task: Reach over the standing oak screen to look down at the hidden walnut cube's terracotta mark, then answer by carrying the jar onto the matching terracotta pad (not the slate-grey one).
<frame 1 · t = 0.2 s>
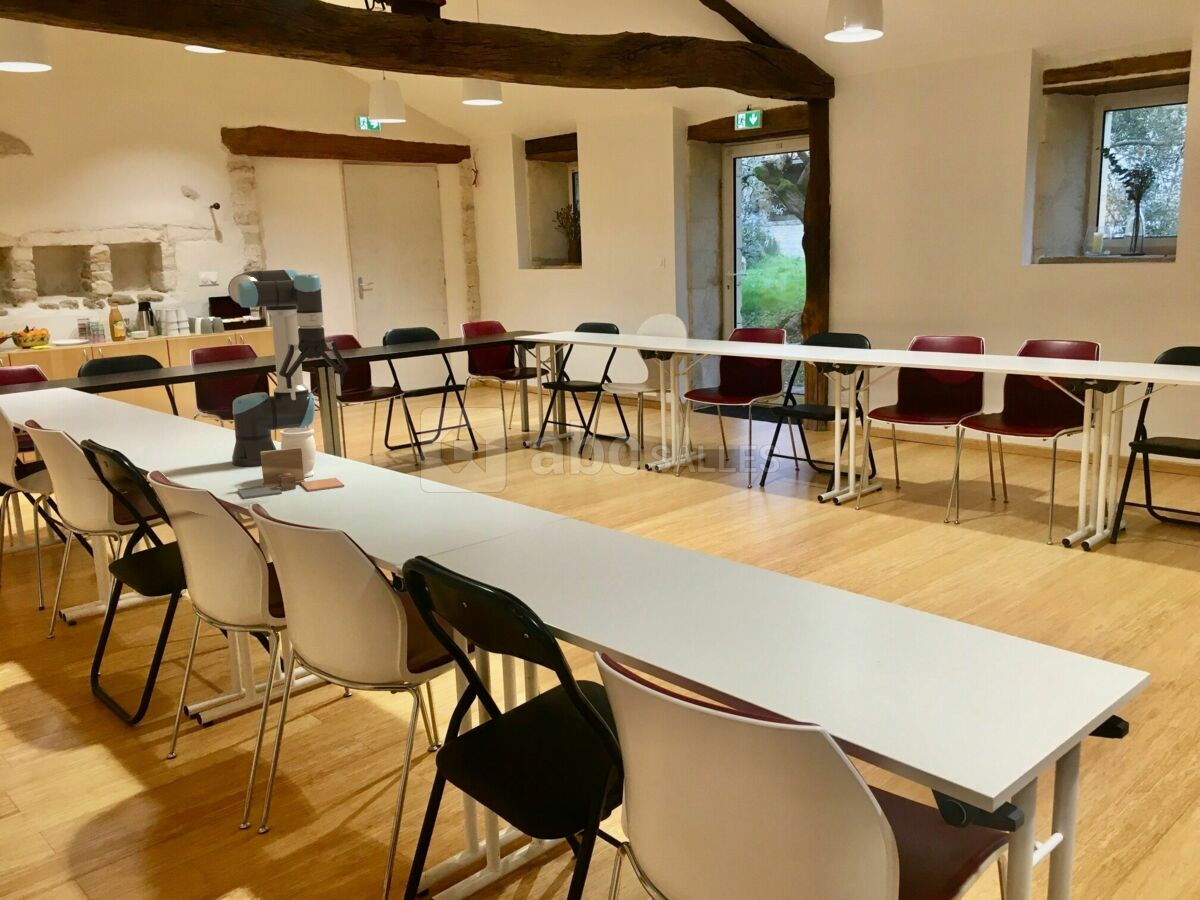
hand: (316, 397, 301), 28 cm above the table, fingers open, 13 cm apart
letter cube: (287, 488, 306), on the table
pad terracotta: (322, 485, 309), on the table
jar: (300, 476, 322), on the table
pad slate: (259, 492, 301), on the table
oak screen: (284, 484, 311), on the table
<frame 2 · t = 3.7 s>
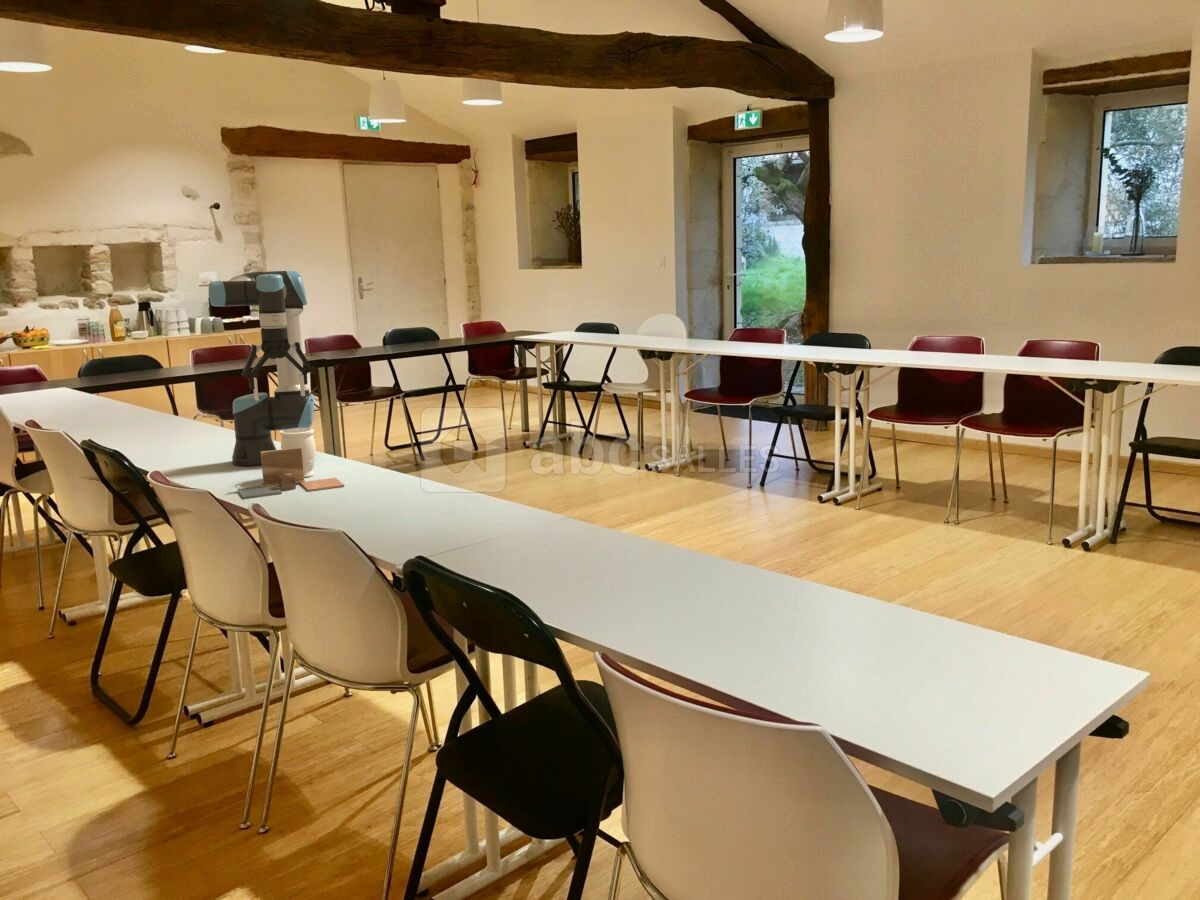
hand: (280, 397, 300), 28 cm above the table, fingers open, 13 cm apart
nothing on the table moved.
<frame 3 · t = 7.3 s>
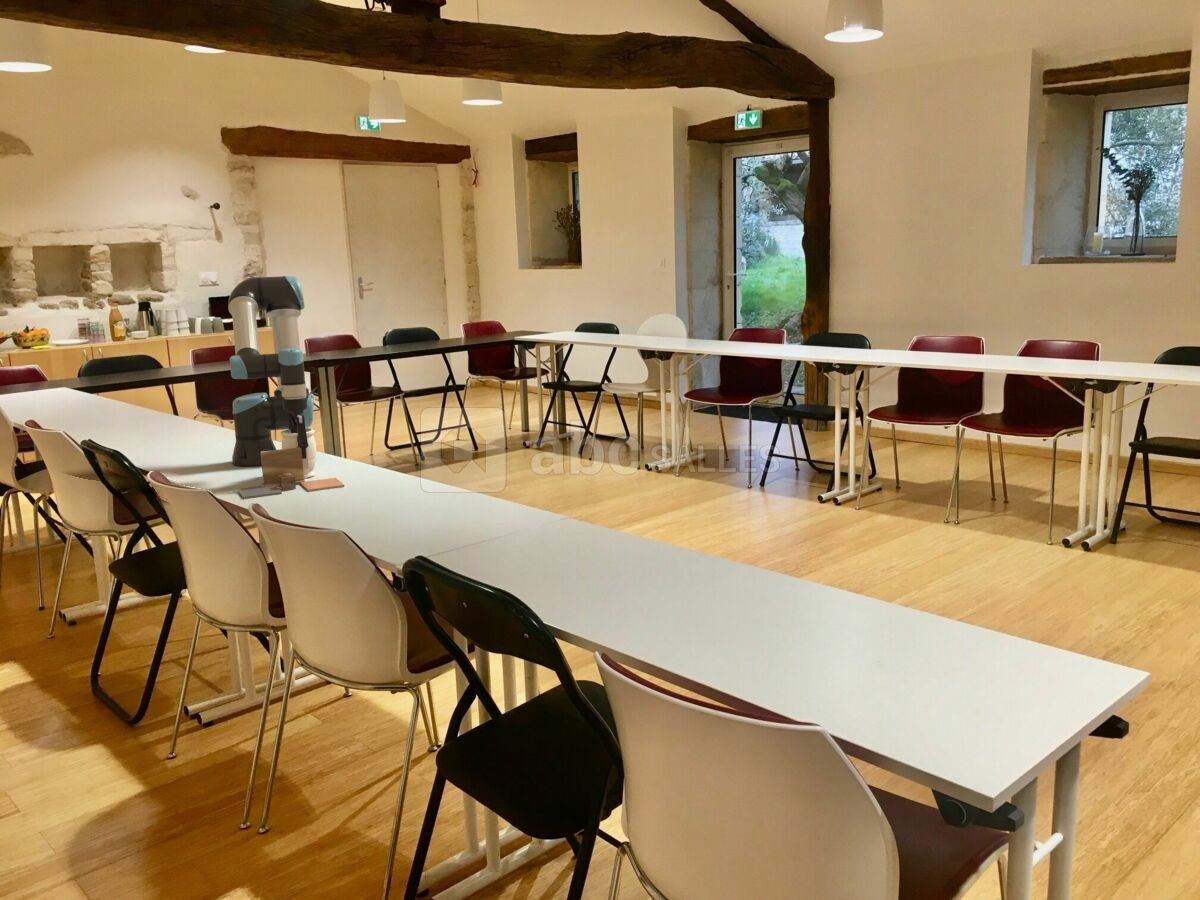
hand: (300, 465, 320), 4 cm above the table, fingers open, 10 cm apart
jar: (301, 476, 321), on the table, touching gripper
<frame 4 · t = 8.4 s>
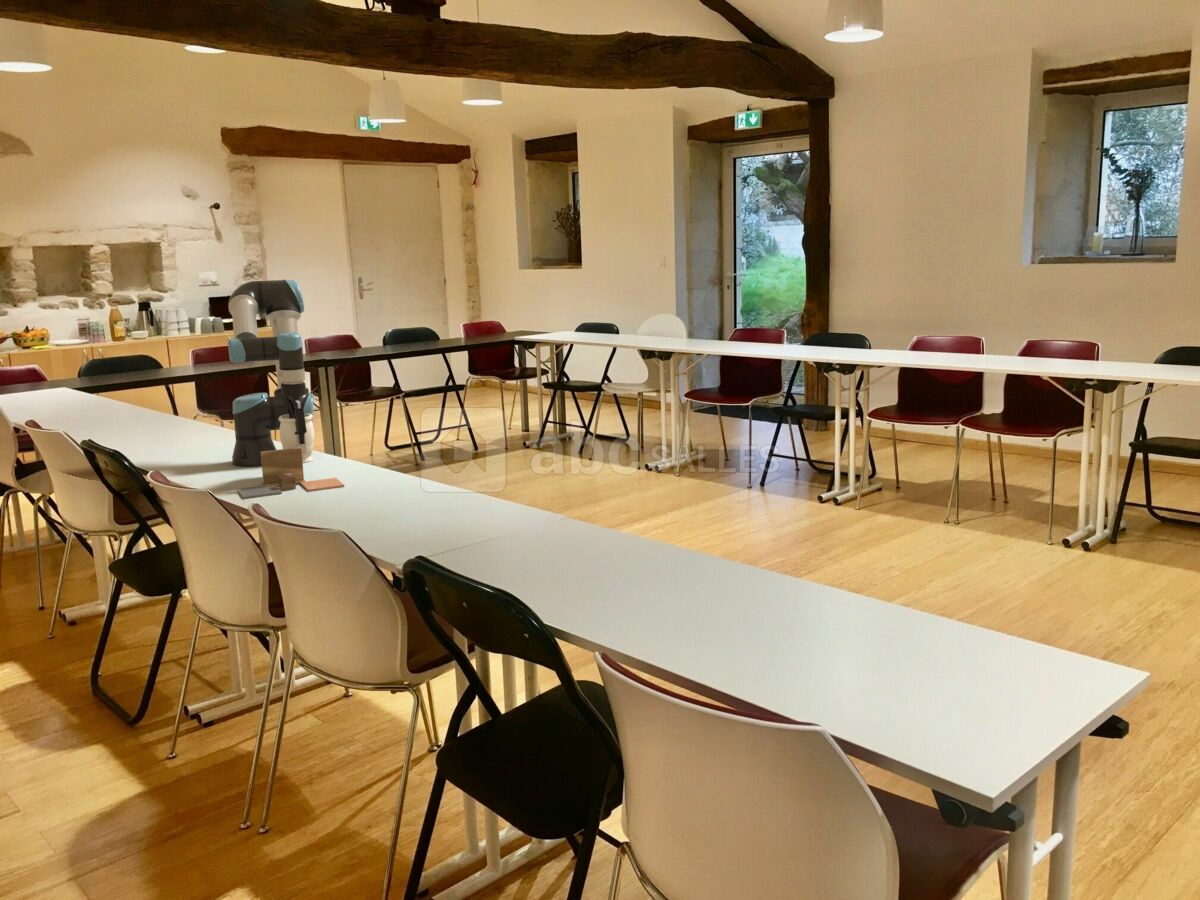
hand: (298, 450, 321), 8 cm above the table, fingers closed on jar, 10 cm apart
jar: (299, 462, 322), point 4 cm above the table, touching gripper
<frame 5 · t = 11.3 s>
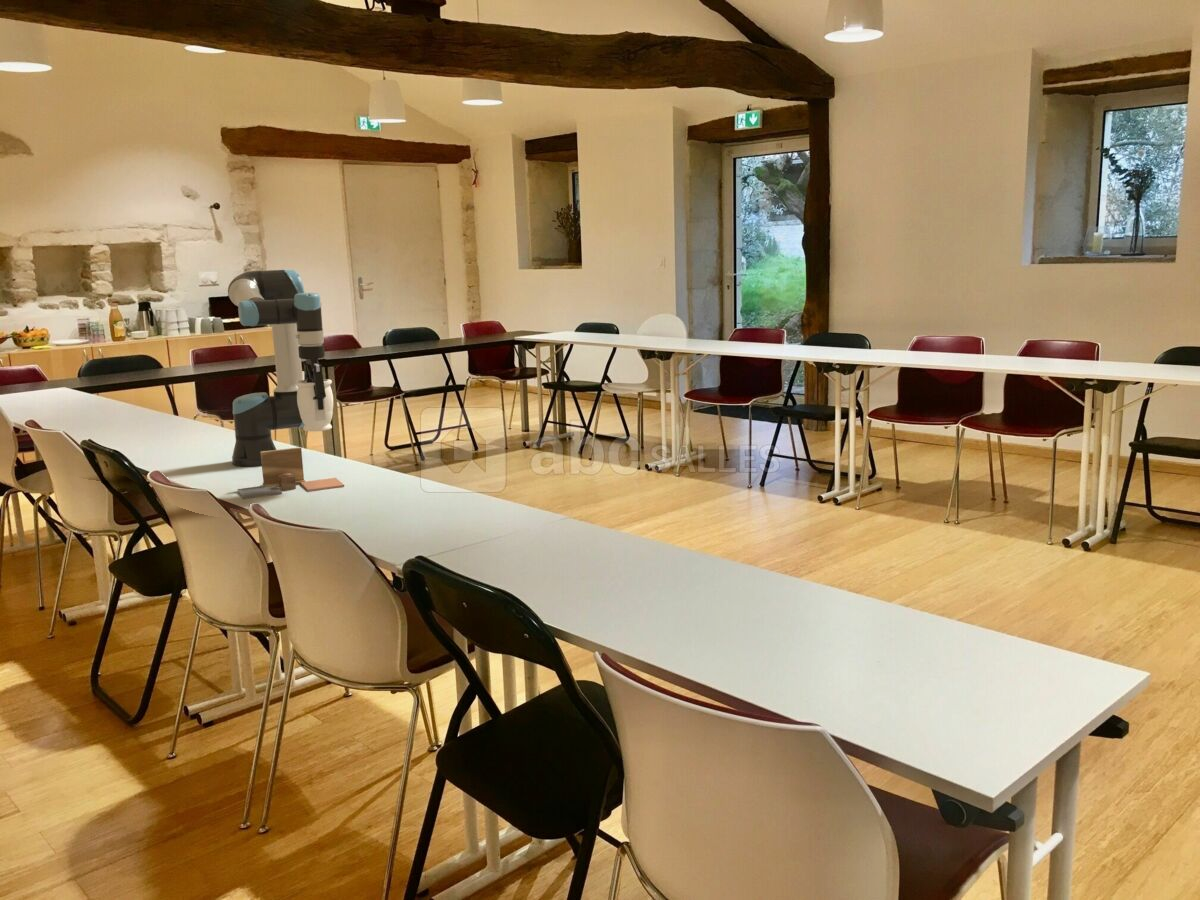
hand: (316, 417, 304), 21 cm above the table, fingers closed on jar, 10 cm apart
jar: (317, 430, 305), point 17 cm above the table, touching gripper
when the fingers open (5 cm above the table, at t = 14.6 s): jar stays where it is, resting on pad terracotta.
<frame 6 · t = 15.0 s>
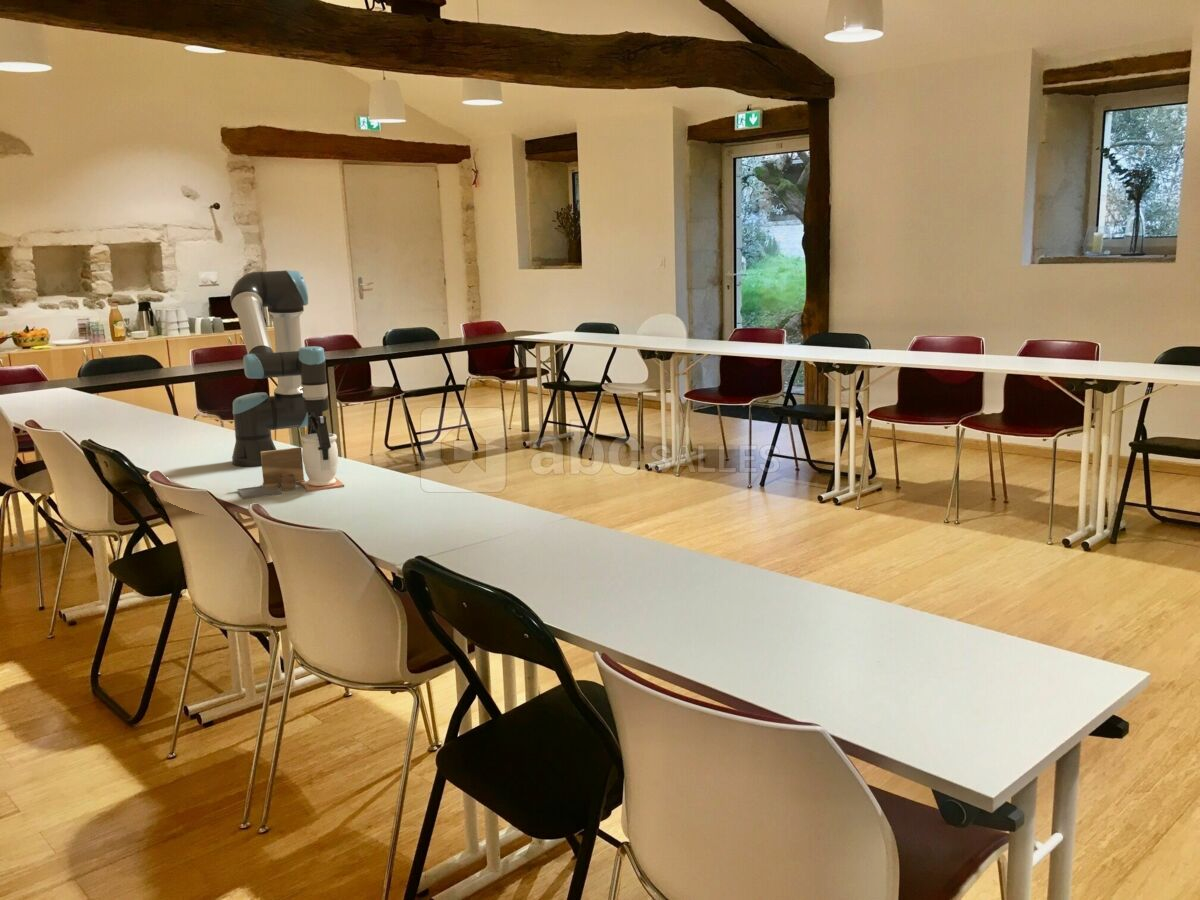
hand: (320, 465, 307), 6 cm above the table, fingers open, 13 cm apart
jar: (322, 483, 308), resting on pad terracotta
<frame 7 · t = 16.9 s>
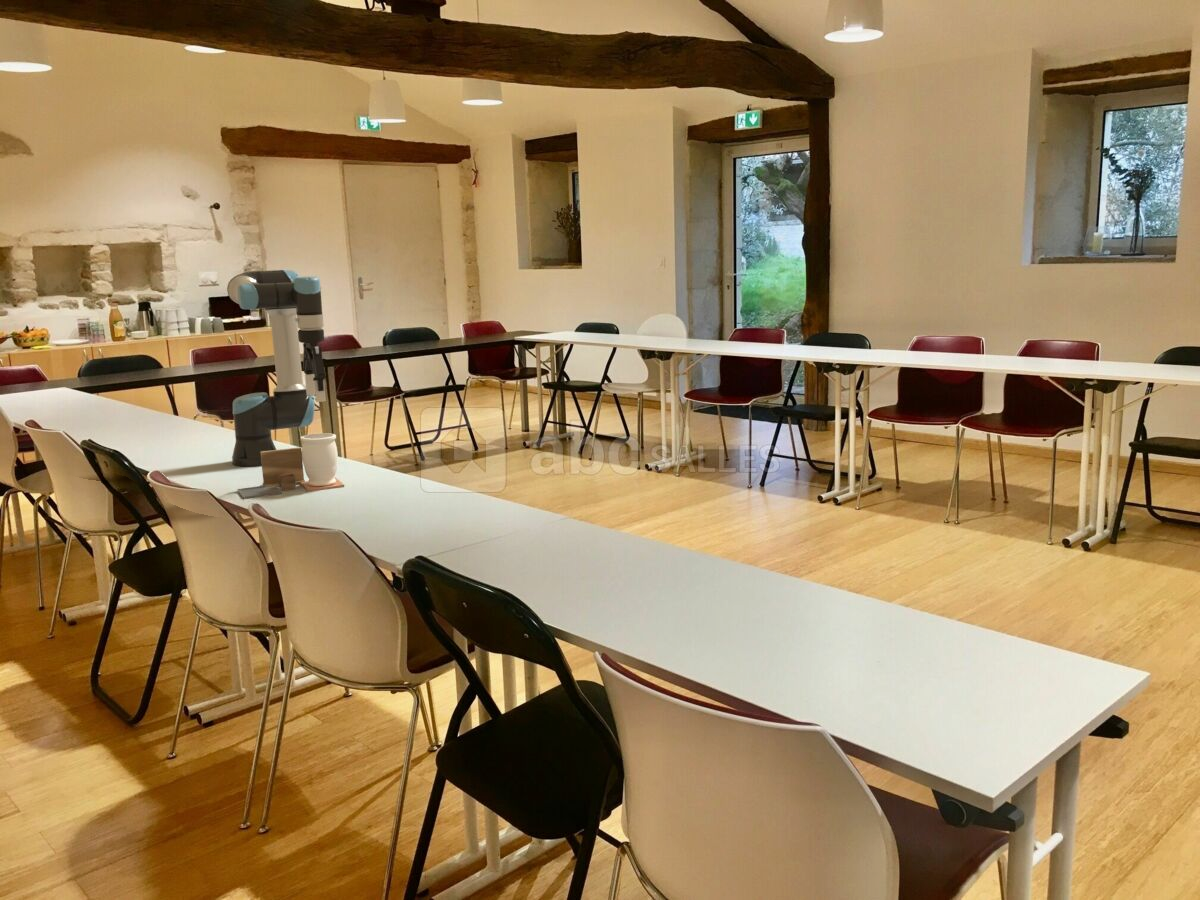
hand: (316, 398, 304), 27 cm above the table, fingers open, 13 cm apart
nothing on the table moved.
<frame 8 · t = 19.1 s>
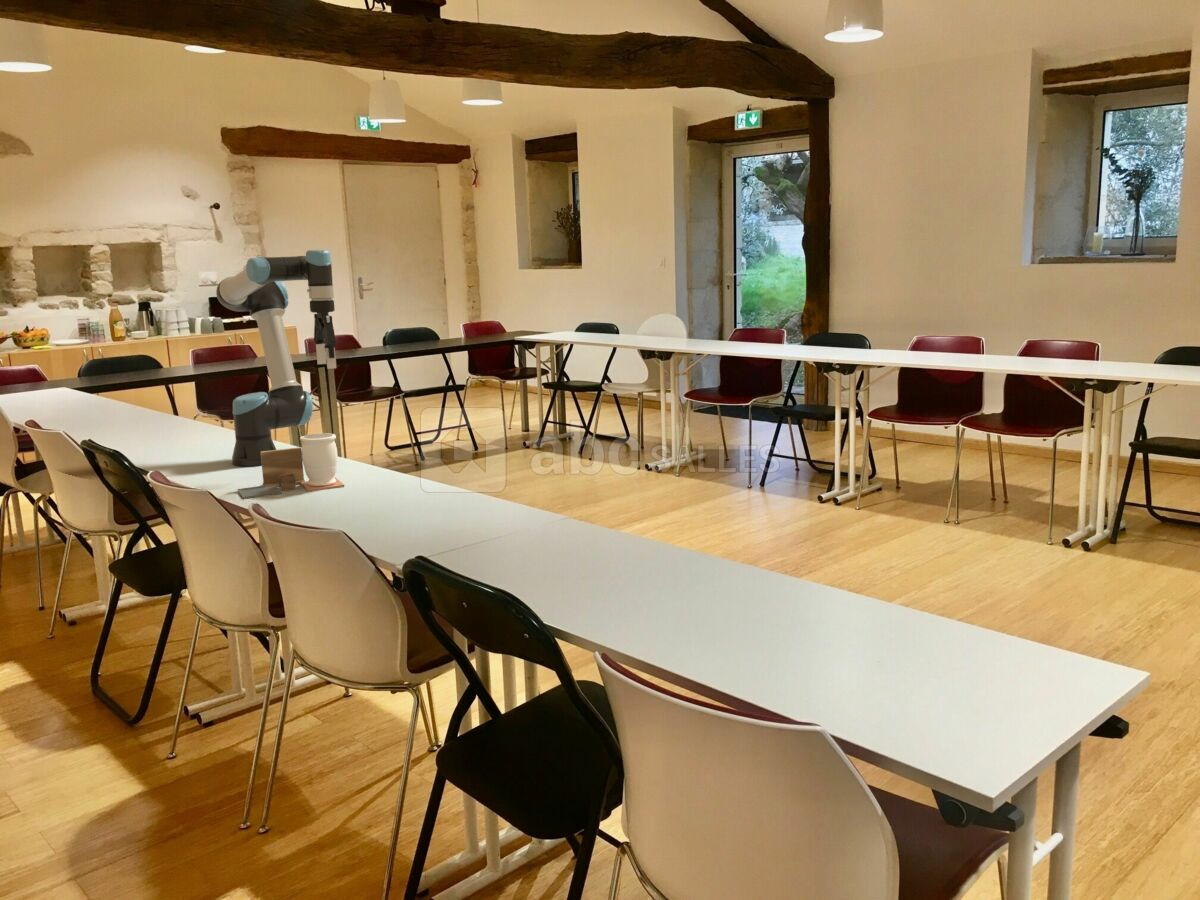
hand: (326, 366, 320), 35 cm above the table, fingers open, 13 cm apart
nothing on the table moved.
at the end: jar inside the target area on the pad terracotta (0.0 cm from its centre), point 0.4 cm above the pad terracotta's base; jar tilted 0°; the gripper is holding nothing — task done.
